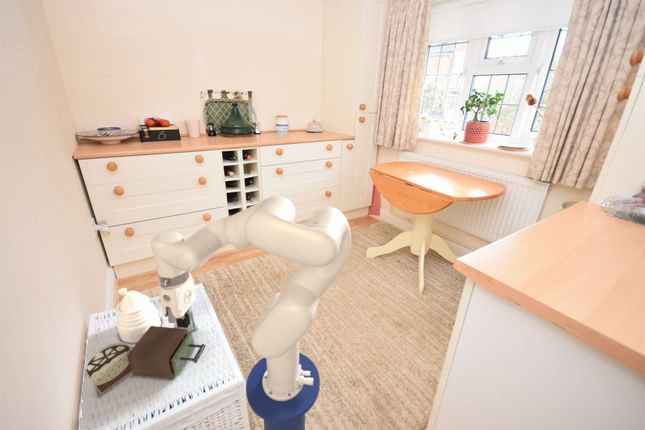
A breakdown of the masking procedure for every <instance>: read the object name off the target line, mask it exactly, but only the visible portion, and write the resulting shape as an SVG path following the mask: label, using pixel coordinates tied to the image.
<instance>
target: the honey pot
mask: <svg viewBox="0 0 645 430" xmlns="http://www.w3.org/2000/svg"><path fill="white" fill-rule="evenodd" d="M117 293H118V295H119V296H122V298H121V300H120V301H119V302H118V303H117V305H116V306H115V312H116V313H117V318H116V319H117V320H116V328H117V332H118V335H119V338H120V339H121V340H122V341H123V342H124V343H128V344H130V343H137V342H138V341H139V340H140V339H141V337H142V336H143V335H144V334H145V333H146V331H147V330H148V329H149V328H150V327H151V326H158V327H161V323H162V322H161V317H160V314H159V311H158V310H159V309H157V307H155V305H154V304H153V302H151V301H150V297H148V295H145V294H142V293H141V292H139V291H136V290H129V291H128V289H127V288H126V287H121V288H120V289H118V290H117Z"/></svg>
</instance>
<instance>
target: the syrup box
mask: <svg viewBox="0 0 645 430" xmlns="http://www.w3.org/2000/svg"><path fill="white" fill-rule="evenodd" d="M188 314H189V319H190V325H188V328H182V327H177V322H176V321H175V322H174V323H173V325H174V328H179V329H188V333H192V332H194V331H196V325H195V318H194V313H193V306H192V305H191V306H190V307H189V313H188Z"/></svg>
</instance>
